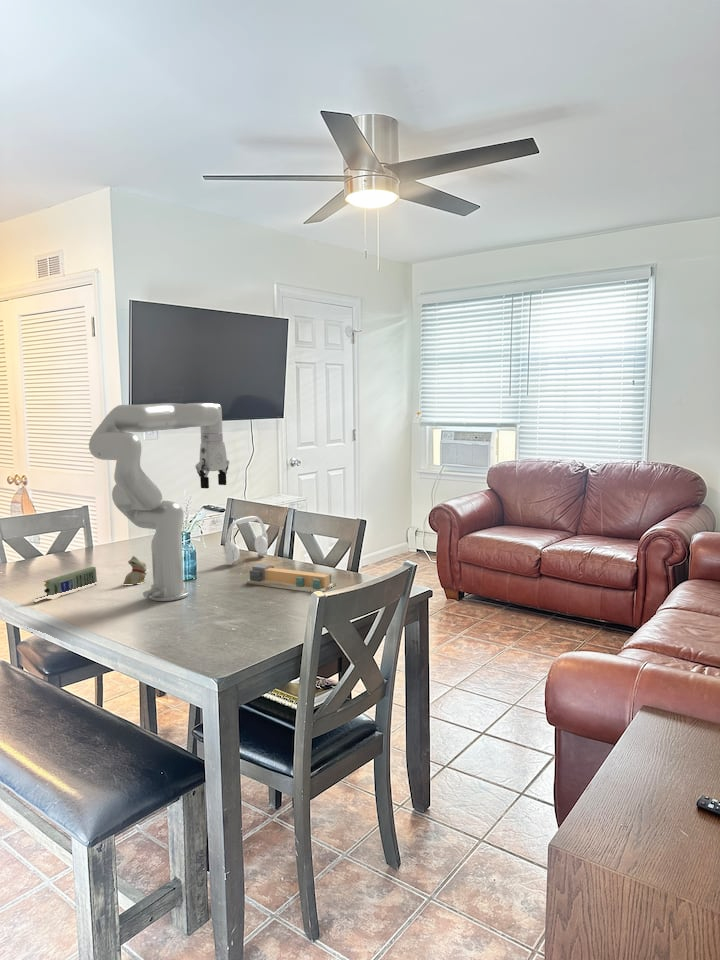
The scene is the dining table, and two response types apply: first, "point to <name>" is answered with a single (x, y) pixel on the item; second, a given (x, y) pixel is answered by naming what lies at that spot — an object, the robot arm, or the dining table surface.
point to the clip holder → (256, 579)
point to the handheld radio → (70, 581)
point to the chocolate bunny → (136, 572)
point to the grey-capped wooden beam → (290, 575)
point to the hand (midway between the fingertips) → (213, 486)
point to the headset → (260, 541)
